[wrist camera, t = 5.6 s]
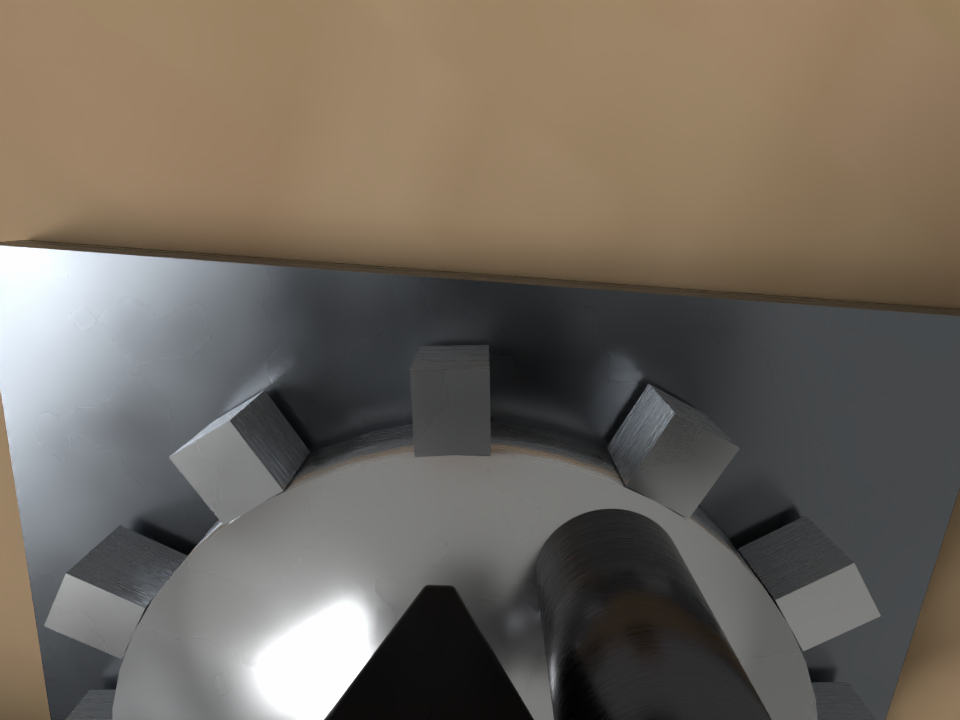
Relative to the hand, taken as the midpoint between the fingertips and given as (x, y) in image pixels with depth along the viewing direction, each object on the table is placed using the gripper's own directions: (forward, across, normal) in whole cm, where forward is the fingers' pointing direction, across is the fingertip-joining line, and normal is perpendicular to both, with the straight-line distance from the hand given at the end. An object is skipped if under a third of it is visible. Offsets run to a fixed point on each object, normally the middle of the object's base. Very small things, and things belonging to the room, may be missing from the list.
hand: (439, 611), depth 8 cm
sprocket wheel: (+3, -1, +5) cm, 6 cm away
